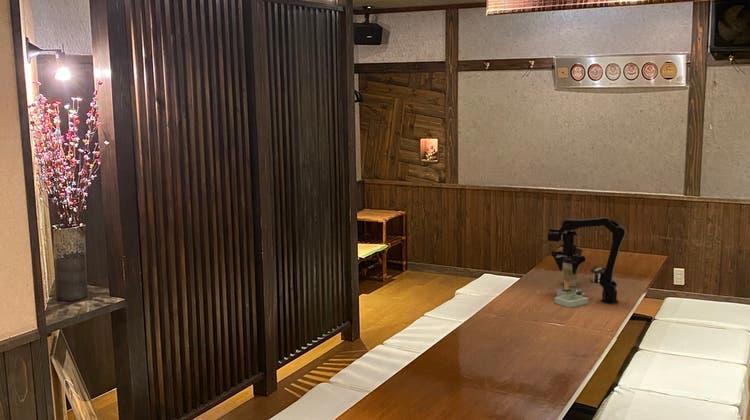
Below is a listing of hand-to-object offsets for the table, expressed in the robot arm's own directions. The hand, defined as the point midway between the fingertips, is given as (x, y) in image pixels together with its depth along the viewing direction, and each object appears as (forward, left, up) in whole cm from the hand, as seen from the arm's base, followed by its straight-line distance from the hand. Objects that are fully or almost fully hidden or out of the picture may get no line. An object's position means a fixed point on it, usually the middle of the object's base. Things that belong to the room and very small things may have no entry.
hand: (567, 272), depth 374 cm
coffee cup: (+15, -19, -13) cm, 28 cm away
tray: (-11, +8, -13) cm, 18 cm away
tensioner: (-1, -3, -13) cm, 13 cm away
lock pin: (-1, +1, -13) cm, 13 cm away
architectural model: (+13, -39, -14) cm, 44 cm away
